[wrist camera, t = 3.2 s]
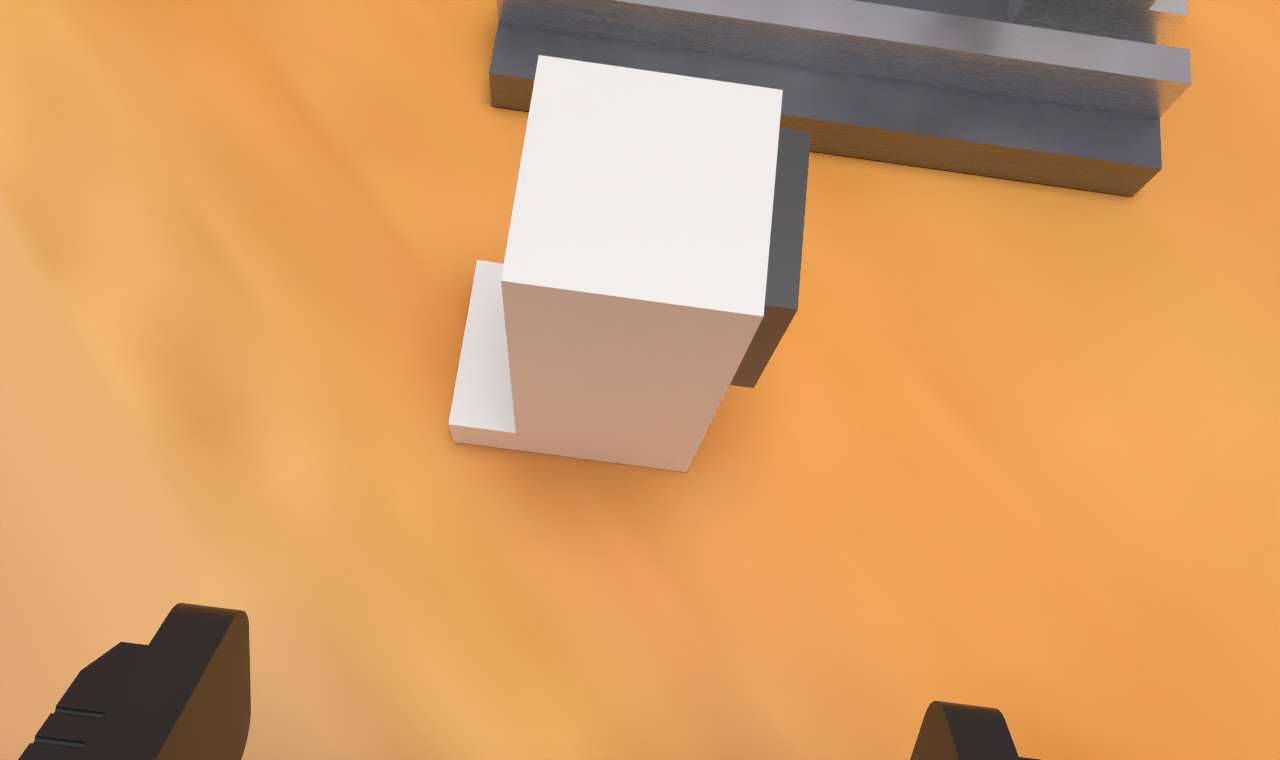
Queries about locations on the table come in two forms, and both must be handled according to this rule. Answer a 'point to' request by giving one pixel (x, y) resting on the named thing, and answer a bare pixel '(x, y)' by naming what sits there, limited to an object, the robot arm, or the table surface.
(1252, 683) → the table surface
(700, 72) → the rail
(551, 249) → the white stepped block
